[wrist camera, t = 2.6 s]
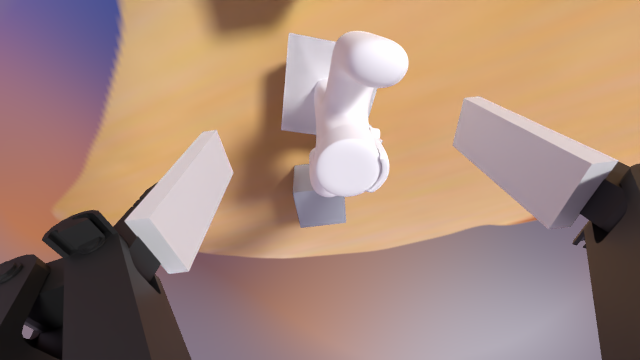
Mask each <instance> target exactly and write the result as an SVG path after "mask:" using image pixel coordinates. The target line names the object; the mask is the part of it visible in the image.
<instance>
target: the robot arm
mask: <svg viewBox="0 0 640 360" xmlns="http://www.w3.org/2000/svg"><path fill="white" fill-rule="evenodd" d="M453 146H454V147H455V148H456V149H457V150H458V151H460V152H461V153H462V154H463V155H464V156H465V157H466V158H468V159H469V160H470V161H471V162H472V163H473V164H474V165H476V166H477V167H478V168H479V169H480V170H481V171H482V172H484V173H485V174H486V175H487V176H488V177H489V178H491V179H492V180H493V181H494V182H495V183H496V184H497V185H499V186H500V187H501V188H502V189H503V190H504V191H505V192H507V193H508V194H509V195H510V196H511V197H512V198H513V199H515V200H516V201H517V202H518V203H519V204H520V205H521V206H523V207H524V208H525V209H526V210H527V211H528V212H529V213H531V214H532V215H533V216H534V217H535V218H536V219H538V220H539V221H540V222H541V223H542V224H543V225H545V226H546V227H547V228H548V229H556V228H565V227H571V225H572V224H573V223H574V221H575V220H576V219H577V217H578V216H579V214H581V215H583V216H584V217H586V218H587V219H588V220H589V221H588V223H587V224H586V225H585V226H584V228H583V229H582V230H581V232H580V233H579V234H578V236H577V237H576V238H575V239H574V241H573V244H574V245H577V244H578V243H579V242H580V241H583V240H585V242H586V244H585V245H584V246H583V248H586V249H587V256H588V262H589V270H590V277H591V285H592V292H593V299H594V306H595V313H596V320H597V327H598V335H599V342H600V349H601V355H602V360H640V164H636V165H633V166H631V167H629V166H627V165H625V164H622V163H620V162H618V160H616V159H614V158H612V157H610V156H608V155H605V154H603V153H601V152H599V151H597V150H595V149H592V148H590V147H588V146H586V145H584V144H581V143H579V142H577V141H575V140H573V139H571V138H568V137H566V136H564V135H562V134H560V133H558V132H555V131H553V130H551V129H549V128H547V127H545V126H542V125H540V124H538V123H536V122H534V121H531V120H529V119H527V118H525V117H523V116H521V115H518V114H516V113H514V112H512V111H510V110H508V109H505V108H503V107H501V106H499V105H497V104H495V103H492V102H490V101H488V100H486V99H484V98H481V97H479V96H477V97H469V98H464V100H463V104H462V108H461V113H460V117H459V121H458V125H457V129H456V133H455V137H454V142H453ZM232 175H233V170H232V168H231V165H230V163H229V160H228V158H227V155H226V153H225V150H224V147H223V145H222V142H221V140H220V137H219V135H218V132H217V130H213V131H205V132H202V133H201V134H200V135H199V136H198V138H197V139H196V140H195V141H194V142H193V143H192V144H191V146H190V147H189V148H188V149H187V150H186V151H185V152H184V154H183V155H182V156H181V157H180V158H179V159H178V160H177V162H176V163H175V164H174V165H173V166H172V167H171V168H170V169H169V171H168V172H167V173H166V174H165V175H164V176H163V177H162V179H161V180H160V181H159V182H157V183H156V184H154V185H153V186H152V187H150V188H149V189H147V190H146V191H145V192H144V194H143V195H142V196H141V197H140V200H137V201H136V202H135V203H134V205H133V207H131V208H130V209H129V210H128V211H127V212H126V213H125V215H124V216H123V217H122V218H121V219H120V220H119V221H118V222H117V223H116V224H115V226H114V227H112V225H111V224H110V223H109V222H108V221H107V220H106V219H105V218H104V216H103V215H102V214H101V213H100V212H99V211H96V210H90V211H84V212H81V213H78V214H75V215H73V216H71V217H69V218H67V219H65V220H63V221H61V222H59V223H58V224H56V225H55V226H53V227H52V228H51V229H50V230H49V231H48V232H47V233H46V234H45V235H44V237H43V239H42V241H44V242H45V243H46V244H47V245H48V246H50V247H51V248H52V249H53V250H54V251H56V252H57V253H58V254H59V255H60V256H62V257H63V258H61V259H58V260H55V261H52V262H49V263H46V264H45V263H44V262H43V261H42V260H40V259H39V258H38V257H36V256H35V255H24V256H20V257H17V258H15V259H12V260H10V261H6V262H4V263H2V264H0V360H191V357H190V355H189V352H188V350H187V347H186V345H185V342H184V340H183V337H182V334H181V332H180V329H179V327H178V324H177V322H176V319H175V317H174V314H173V312H172V309H171V306H170V304H169V302H168V299H167V296H166V294H165V291H164V289H163V286H162V284H161V281H160V279H159V278H158V277H157V276H156V275H155V273H156V271H157V269H158V268H159V266H160V264H161V265H162V267H163V268H164V269H165V270H166V271H167V273H168V274H172V273H181V272H189V270H190V268H191V266H192V263H193V261H194V259H195V257H196V254H197V253H198V250H199V248H200V246H201V244H202V241H203V239H204V237H205V235H206V233H207V230H208V228H209V226H210V224H211V221H212V219H213V217H214V215H215V213H216V210H217V208H218V206H219V204H220V202H221V199H222V197H223V195H224V193H225V190H226V188H227V186H228V184H229V182H230V179H231V177H232ZM23 325H26V326H28V327H30V328H32V329H33V330H34V331H33V333H32V336H31V337H30V339H25V338H23V335H22V329H23Z"/></svg>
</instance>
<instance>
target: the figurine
mask: <svg viewBox="0 0 640 360" xmlns="http://www.w3.org/2000/svg"><path fill="white" fill-rule="evenodd" d="M407 69H408V57H407V54H406V52H405V50H404V49H403V48H402V47H401V46H400V45H398V44H397V43H396V42H394V41H392V40H390V39H387V38H384V37H381V36H378V35H375V34H372V33H368V32H364V31H351V32H347V33H345V34H343V35H342V36H341V37H340V38H339V39H338V40H337V42H334V41H329V40H324V39H319V38H314V37H309V36H303V35H298V34H293V33H289V38H288V50H287V62H286V75H285V87H284V100H283V112H282V125H281V130H284V131H292V132H299V133H306V134H314V135H316V147H315V148H313V149H312V150H311V152H310V154H309V175H310V182H311V185H312V187H313V189H314V190H315V192H316V193H317V194H319V195H321V196H324V197H335V196H343V197H349V196H355V195H359V194H361V193H363V192H365V191H367V192H374V191H376V190H377V189H379V188H380V187H381V185H382V184H383V183H384V182H385V180H386V179H387V177H388V173H389V160H388V156H387V153H386V151H385V149H384V148H383V146H382V144H381V143H382V142H383V141H382V140H381V139H379V138H380V131H379V129H377V128H372V126H371V125H369V123H368V117H369V114H370V111H371V107H372V104H373V101H374V97H375V94H376V91H377V88H385V87H390V86H393V85H395V84H396V83H398V82H399V81H400V80H402V78H403V77H404V76H405V74H406V72H407Z"/></svg>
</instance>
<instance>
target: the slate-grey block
mask: <svg viewBox="0 0 640 360" xmlns="http://www.w3.org/2000/svg"><path fill="white" fill-rule="evenodd" d="M293 196H294V201H295V205H296V209H297V214H298V218H299V222H300V227H301V228H304V227H312V226H321V225H330V224H339V223H346V214H345V198H344V197H343V196H335V197H324V196H321V195H319V194H317V193H316V192H315V190H314V189H313V187H312V185H311V182H310V175H309V164H304V165H296V166H295V167H294V181H293Z"/></svg>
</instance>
